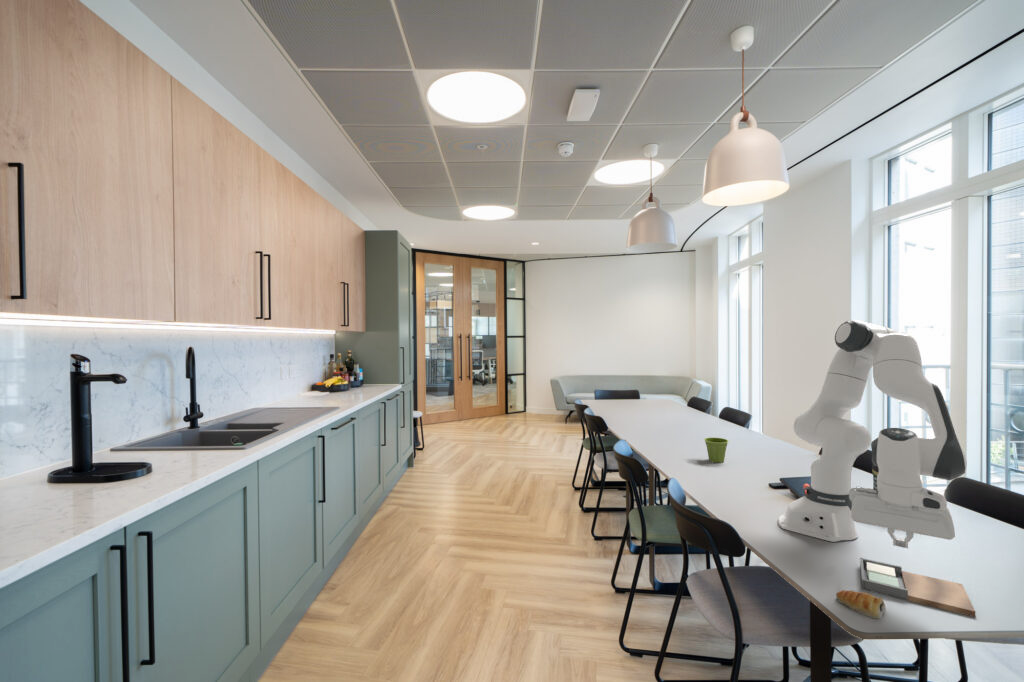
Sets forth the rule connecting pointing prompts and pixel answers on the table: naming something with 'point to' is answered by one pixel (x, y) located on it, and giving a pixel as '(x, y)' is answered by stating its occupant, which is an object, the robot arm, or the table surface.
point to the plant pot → (716, 449)
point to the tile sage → (883, 579)
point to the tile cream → (880, 570)
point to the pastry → (862, 603)
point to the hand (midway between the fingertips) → (900, 546)
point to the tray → (879, 587)
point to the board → (937, 593)
